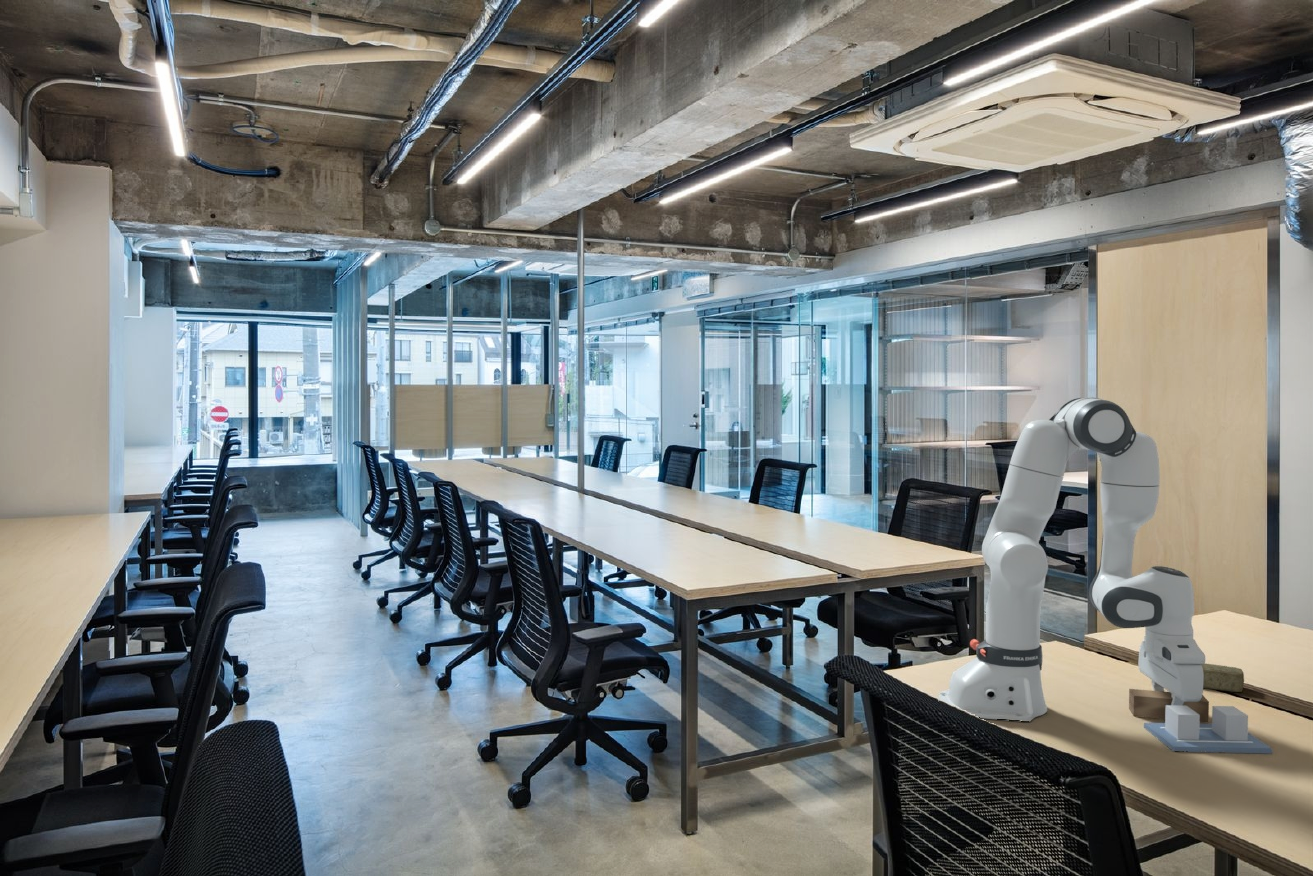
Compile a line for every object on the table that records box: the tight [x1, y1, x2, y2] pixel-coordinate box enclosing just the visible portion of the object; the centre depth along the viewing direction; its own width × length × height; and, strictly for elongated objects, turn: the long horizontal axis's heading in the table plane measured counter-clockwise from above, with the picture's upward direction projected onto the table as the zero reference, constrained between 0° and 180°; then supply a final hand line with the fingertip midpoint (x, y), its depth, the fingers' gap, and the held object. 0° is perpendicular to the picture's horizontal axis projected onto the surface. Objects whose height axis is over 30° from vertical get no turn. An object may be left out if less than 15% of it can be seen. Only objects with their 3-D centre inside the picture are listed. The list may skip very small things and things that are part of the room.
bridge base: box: [1143, 705, 1273, 754], centre depth 174 cm, size 18×12×6 cm, turn 85°
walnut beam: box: [1128, 688, 1210, 724], centre depth 187 cm, size 14×4×4 cm, turn 73°
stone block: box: [1201, 662, 1245, 693], centre depth 204 cm, size 6×12×5 cm, turn 60°
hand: (1167, 707), depth 187 cm, fingers closed on walnut beam, 5 cm apart
